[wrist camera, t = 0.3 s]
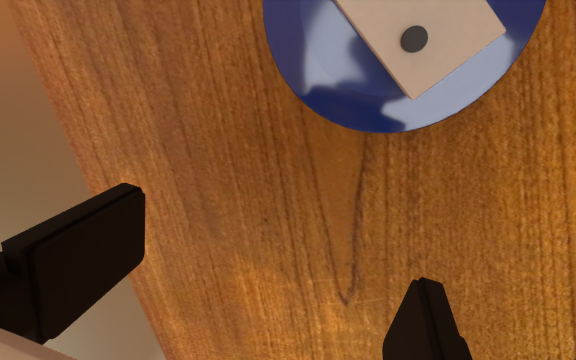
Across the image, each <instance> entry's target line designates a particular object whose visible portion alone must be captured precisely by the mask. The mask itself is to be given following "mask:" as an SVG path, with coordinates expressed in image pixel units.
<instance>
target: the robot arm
mask: <svg viewBox="0 0 576 360" xmlns="http://www.w3.org/2000/svg"><path fill="white" fill-rule="evenodd" d="M1 245H2V250H3V251H2V252H0V360H76V359H74V358H72V357H69V356H67V355H64V354H62V353H60V352H57V351H55V350H52V349H50V348H47V347H45V346H43V344H44V343H46V342H47V341H48V340H49V339H54V338H56V337H57V336H58V335H60V334H61V333H62V332H63V331H64V330H65V329H67V328H68V327H69V326H70V325H71V324H72V323H73V322H74V321H76V320H77V319H78V318H79V317H80V316H81V315H82V314H84V312H86V311H87V310H88V309H89V308H90V307H91V306H93V305H94V304H95V303H96V302H97V301H98V300H99V299H100V298H102V297H103V296H104V295H105V294H106V293H107V292H108V291H110V290H111V289H112V288H113V287H114V286H115V285H116V284H117V283H118V282H119V281H121V280H122V279H123V278H124V277H125V276H127V275H128V274H129V273H130V272H131V271H132V270H133V269H134V268H136V267H137V266H138V265H139V264H140V263H141V261H142V260H143V258H144V254H145V194H144V193H143V192H142V189H141V188H140V187H137V186H134V185H131V184H128V183H121V184H119V185H117V186H115V187H113V188H111V189H109V190H107V191H105V192H103V193H101V194H99V195H97V196H95V197H93V198H91V199H89V200H87V201H85V202H83V203H81V204H78V205H76V206H74V207H72V208H70V209H68V210H66V211H65V212H62V213H60V214H58V215H56V216H55V217H52V218H50V219H48V220H46V221H44V222H42V223H40V224H38V225H36V226H34V227H32V228H30V229H28V230H26V231H24V232H22V233H20V234H18V235H15V236H13V237H11V238H10V239H7V240H5V241H3V242H1ZM382 353H383V360H472V357H471V354H470V351H469V348H468V346H467V343H466V341H465V339H464V338H463V337H461V336H460V335H459V332H458V329H457V326H456V323H455V320H454V317H453V314H452V311H451V308H450V305H449V302H448V299H447V296H446V293H445V290H444V287H443V285H442V283H440V282H437V281H433V280H430V279H427V278H424V277H421V278H420V279H419V280H413V281H412V282H411V284H410V286H409V288H408V290H407V293H406V295H405V297H404V299H403V301H402V303H401V305H400V307H399V309H398V311H397V314H396V316H395V318H394V320H393V322H392V324H391V326H390V328H389V330H388V333H387V335H386V337H385V339H384V342H383V349H382Z"/></svg>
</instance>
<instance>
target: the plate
mask: <svg viewBox="0 0 576 360" xmlns="http://www.w3.org/2000/svg"><path fill="white" fill-rule="evenodd" d="M486 1H487V3H488V4H489V5H490V7H491V8H492V10H493V11H494V13H495V14H496V16H497V17H498V19H499V20H500V21H501V23H502V24H503V26H504V27H505V29H506V32H505V33H504V34H502V35H501V36H499V37H498V38H497V39H495V40H494V41H493V42H491V43H490V44H489V45H487V46H486V47H485V48H483V49H482V50H481V51H479V52H478V53H477V54H475V55H474V56H473V57H471V58H470V59H469V60H467V61H466V62H464V63H463V64H462V65H460V66H459V67H458V68H456V69H455V70H454V71H452V72H451V73H450V74H448V75H447V76H446V77H444V78H443V79H442V80H440V81H439V82H438V83H436V84H435V85H434V86H432V87H431V88H429V89H428V90H427V91H425V92H424V93H423V94H421V95H420V96H419V97H417V98H416V99H415V100H411V99H410V98H409V97H408V96H406V95H405V94H404V92H403V91H402V90H401V89H400V87H399V86H398V85H397V83H396V82H395V81H394V79H393V78H392V77H391V75H390V74H389V73H388V71H387V70H386V69H385V68H384V66H383V65H382V64H381V62H380V61H379V60H378V58H377V57H376V56H375V54H374V53H373V52H372V50H371V49H370V48H369V47H368V45H367V44H366V43H365V41H364V40H363V39H362V37H361V36H360V35H359V33H358V32H357V31H356V29H355V28H354V27H353V25H352V24H351V23H350V22H349V20H348V19H347V18H346V16H345V15H344V14H343V12H342V11H341V10H340V8H339V7H338V6H337V4H336V3H335V2H334V1H333V0H263V15H264V24H265V30H266V35H267V40H268V43H269V46H270V50H271V53H272V56H273V58H274V60H275V62H276V65H277V67H278V69H279V71H280V73H281V74H282V76H283V78H284V79H285V81H286V83H287V84H288V85H289V87H290V88H291V89H292V90H293V92H294V93H295V94H296V95H297V96H298V97H299V98H300V99H301V100H302V101H303V102H304V103H305V104H306V105H307V106H308V107H309V108H311V109H312V110H313V111H315V112H316V113H317V114H319V115H320V116H322V117H324V118H326V119H327V120H329V121H331V122H333V123H336V124H338V125H341V126H343V127H346V128H349V129H353V130H357V131H362V132H370V133H398V132H406V131H411V130H415V129H419V128H423V127H427V126H429V125H432V124H435V123H437V122H440V121H442V120H444V119H446V118H448V117H450V116H452V115H454V114H456V113H458V112H460V111H461V110H463V109H464V108H466V107H467V106H469V105H471V104H472V103H474V102H475V101H476V100H477V99H479V98H480V97H481V96H482V95H484V94H485V93H486V92H487V91H488V90H490V89H491V88H492V87H493V86H494V85H495V84H496V83H497V82H498V81H499V80H500V79H501V78H502V77H503V76H504V75H505V73H506V72H507V71H508V70H509V68H510V67H511V66H512V65H513V63H514V62H515V61H516V59H517V58H518V57H519V55H520V54H521V52H522V51H523V49H524V47H525V46H526V44H527V43H528V41H529V39H530V38H531V36H532V34H533V32H534V29H535V27H536V25H537V23H538V21H539V19H540V17H541V14H542V11H543V8H544V5H545V2H546V0H486Z"/></svg>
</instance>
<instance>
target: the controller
mask: <svg viewBox="0 0 576 360" xmlns="http://www.w3.org/2000/svg"><path fill="white" fill-rule="evenodd" d="M333 1H334V2H335V3H336V4H337V6H338V7H339V8H340V10H341V11H342V12H343V14H344V15H345V16H346V18H347V19H348V20H349V22H350V23H351V24H352V25H353V27H354V28H355V29H356V31H357V32H358V33H359V35H360V36H361V37H362V39H363V40H364V41H365V43H366V44H367V45H368V47H369V48H370V49H371V50H372V52H373V53H374V54H375V56H376V57H377V58H378V60H379V61H380V62H381V64H382V65H383V66H384V68H385V69H386V70H387V71H388V73H389V74H390V75H391V77H392V78H393V79H394V81H395V82H396V83H397V85H398V86H399V87H400V89H401V90H402V91H403V92H404V94H405V95H406V96H408V97H409V98H410V99H411V100H415V99H416V98H417V97H419V96H420V95H421V94H423V93H424V92H425V91H427V90H428V89H429V88H431V87H432V86H434V85H435V84H436V83H438V82H439V81H440V80H442V79H443V78H444V77H446V76H447V75H448V74H450V73H451V72H452V71H454V70H455V69H456V68H458V67H459V66H460V65H462V64H463V63H464V62H466V61H467V60H469V59H470V58H471V57H473V56H474V55H475V54H477V53H478V52H479V51H481V50H482V49H483V48H485V47H486V46H487V45H489V44H490V43H491V42H493V41H494V40H495V39H497V38H498V37H499V36H501V35H502V34H504V33H505V32H506V29H505V27H504V26H503V24H502V23H501V21H500V20H499V19H498V17H497V16H496V14H495V13H494V11H493V10H492V8H491V7H490V5H489V4H488V3H487V1H486V0H333Z"/></svg>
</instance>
